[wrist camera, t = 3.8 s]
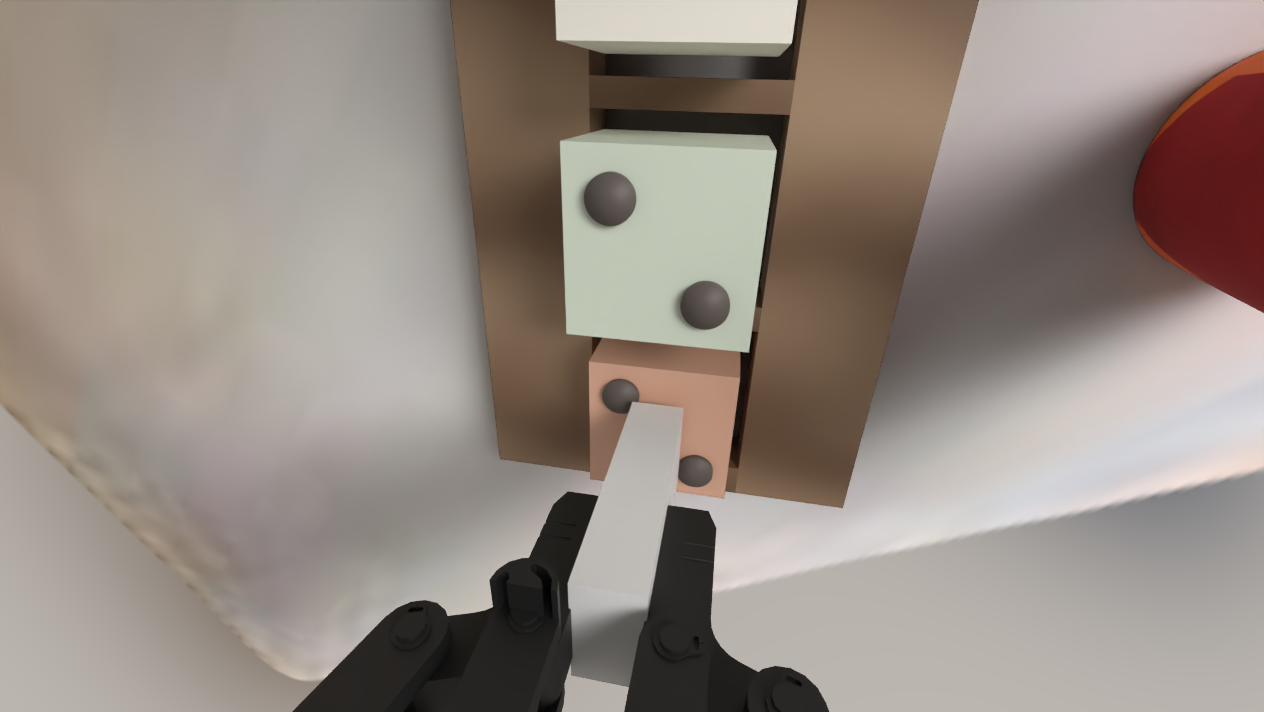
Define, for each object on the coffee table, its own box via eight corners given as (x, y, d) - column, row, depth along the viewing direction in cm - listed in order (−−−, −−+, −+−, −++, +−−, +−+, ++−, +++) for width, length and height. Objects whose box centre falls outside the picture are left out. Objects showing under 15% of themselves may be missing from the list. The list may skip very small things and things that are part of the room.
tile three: (617, 311, 19) (587, 364, 15) (740, 323, 18) (740, 381, 15) (615, 414, 21) (588, 482, 17) (727, 428, 20) (723, 502, 17)
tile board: (463, -211, 14) (421, -256, 12) (1013, -247, 12) (1061, -307, 10) (518, 430, 23) (499, 459, 21) (834, 472, 21) (842, 507, 19)
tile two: (604, 129, 14) (557, 141, 11) (768, 135, 14) (777, 151, 10) (604, 282, 16) (563, 337, 13) (747, 294, 16) (749, 356, 12)
